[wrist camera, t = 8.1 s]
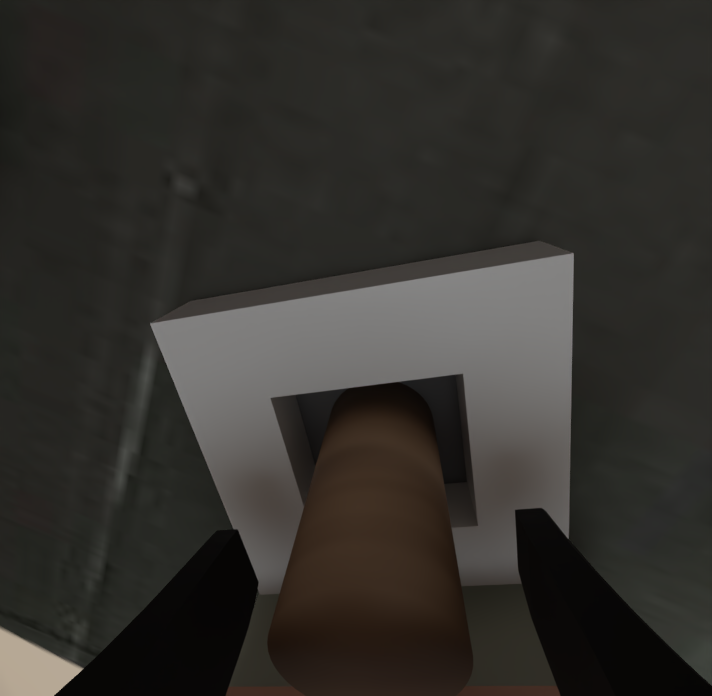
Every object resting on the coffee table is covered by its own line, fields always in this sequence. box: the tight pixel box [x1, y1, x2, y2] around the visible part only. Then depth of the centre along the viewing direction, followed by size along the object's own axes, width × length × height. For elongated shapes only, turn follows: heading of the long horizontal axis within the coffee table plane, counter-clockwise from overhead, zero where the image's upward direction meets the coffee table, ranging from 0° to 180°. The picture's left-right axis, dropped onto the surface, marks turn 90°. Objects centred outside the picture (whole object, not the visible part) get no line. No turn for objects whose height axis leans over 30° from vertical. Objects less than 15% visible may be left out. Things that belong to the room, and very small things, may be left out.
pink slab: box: [226, 584, 560, 696], centre depth 15 cm, size 5×15×7 cm, turn 101°
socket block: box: [150, 241, 574, 595], centre depth 14 cm, size 12×12×2 cm
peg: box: [267, 382, 473, 696], centre depth 11 cm, size 4×4×8 cm
